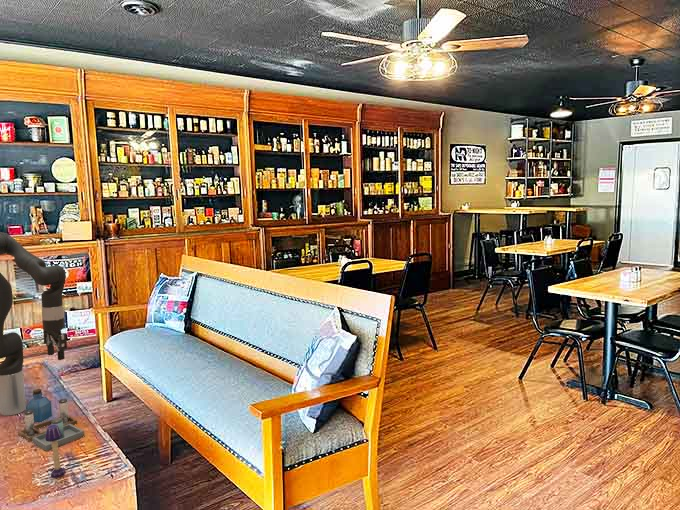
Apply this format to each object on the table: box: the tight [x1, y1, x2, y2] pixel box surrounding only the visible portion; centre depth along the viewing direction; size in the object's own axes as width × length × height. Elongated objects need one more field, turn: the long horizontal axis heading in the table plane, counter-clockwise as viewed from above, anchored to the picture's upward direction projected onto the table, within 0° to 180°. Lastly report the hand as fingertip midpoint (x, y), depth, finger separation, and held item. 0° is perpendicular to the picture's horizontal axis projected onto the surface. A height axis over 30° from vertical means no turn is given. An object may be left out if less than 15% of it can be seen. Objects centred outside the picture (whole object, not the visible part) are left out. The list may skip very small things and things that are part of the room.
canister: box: [58, 398, 70, 424], centre depth 202 cm, size 3×3×10 cm
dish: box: [32, 424, 85, 452], centre depth 189 cm, size 11×14×2 cm
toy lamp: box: [45, 424, 67, 479], centre depth 164 cm, size 5×5×17 cm
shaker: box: [50, 417, 64, 440], centre depth 188 cm, size 4×4×7 cm
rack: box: [17, 416, 78, 443], centre depth 197 cm, size 9×18×2 cm, turn 144°
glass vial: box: [23, 410, 36, 437], centre depth 192 cm, size 3×3×10 cm
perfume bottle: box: [25, 388, 53, 423], centre depth 206 cm, size 6×6×12 cm
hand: (56, 357), depth 200 cm, fingers open, 8 cm apart
